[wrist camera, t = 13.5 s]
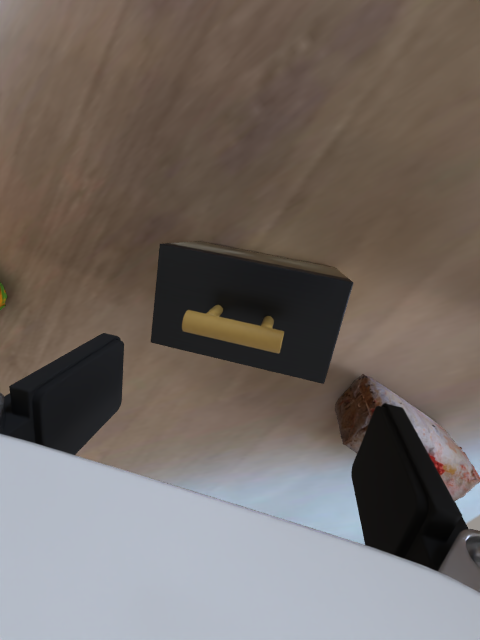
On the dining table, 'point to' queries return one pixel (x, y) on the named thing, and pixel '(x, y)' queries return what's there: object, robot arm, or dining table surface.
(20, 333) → the dining table surface
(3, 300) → the corn
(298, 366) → the box
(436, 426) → the food item
